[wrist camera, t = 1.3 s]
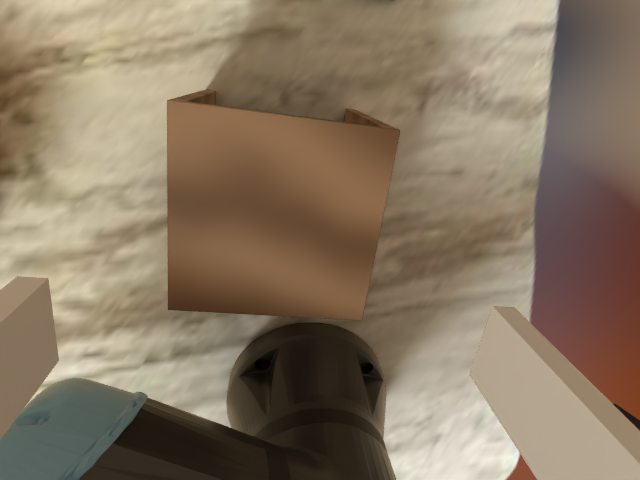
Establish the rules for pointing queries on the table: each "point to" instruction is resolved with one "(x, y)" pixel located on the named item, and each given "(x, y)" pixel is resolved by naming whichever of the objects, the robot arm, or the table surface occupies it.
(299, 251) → the brown wooden box frame
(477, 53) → the table surface
